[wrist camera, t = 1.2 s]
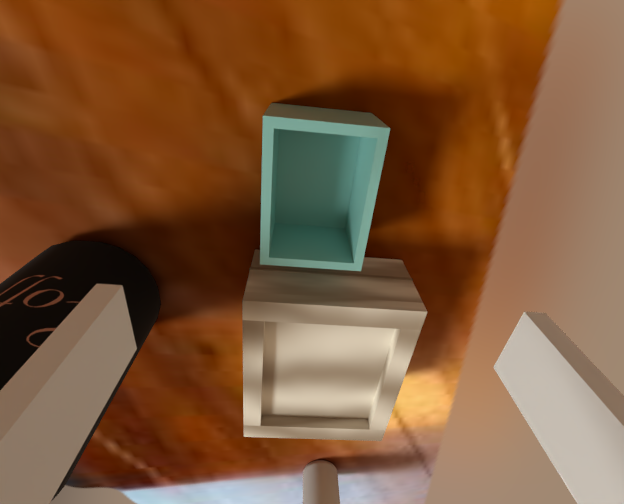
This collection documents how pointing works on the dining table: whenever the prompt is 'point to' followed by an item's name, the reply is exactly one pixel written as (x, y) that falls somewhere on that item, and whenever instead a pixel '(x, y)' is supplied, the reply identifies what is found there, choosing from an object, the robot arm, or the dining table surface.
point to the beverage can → (320, 483)
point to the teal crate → (319, 185)
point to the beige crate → (326, 348)
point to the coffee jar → (69, 303)
